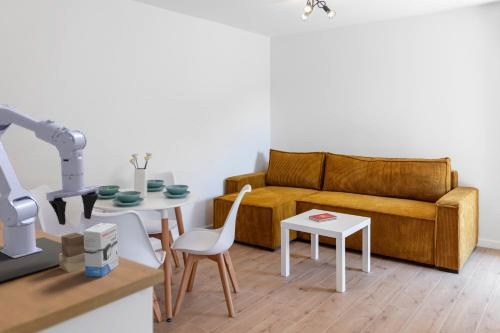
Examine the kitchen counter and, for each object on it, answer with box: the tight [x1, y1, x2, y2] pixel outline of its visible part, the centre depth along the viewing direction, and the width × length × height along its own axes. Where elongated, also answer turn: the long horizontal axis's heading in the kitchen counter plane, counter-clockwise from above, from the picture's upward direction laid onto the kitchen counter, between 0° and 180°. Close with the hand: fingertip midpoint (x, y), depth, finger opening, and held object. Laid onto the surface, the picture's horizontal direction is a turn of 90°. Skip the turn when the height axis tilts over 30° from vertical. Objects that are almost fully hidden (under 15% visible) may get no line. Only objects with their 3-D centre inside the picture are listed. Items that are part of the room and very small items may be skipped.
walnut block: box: [60, 232, 85, 257], centre depth 106 cm, size 4×4×5 cm
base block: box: [58, 252, 85, 273], centre depth 107 cm, size 5×5×4 cm
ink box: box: [83, 222, 119, 278], centre depth 105 cm, size 8×5×12 cm, turn 168°
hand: (75, 221), depth 114 cm, fingers open, 7 cm apart
